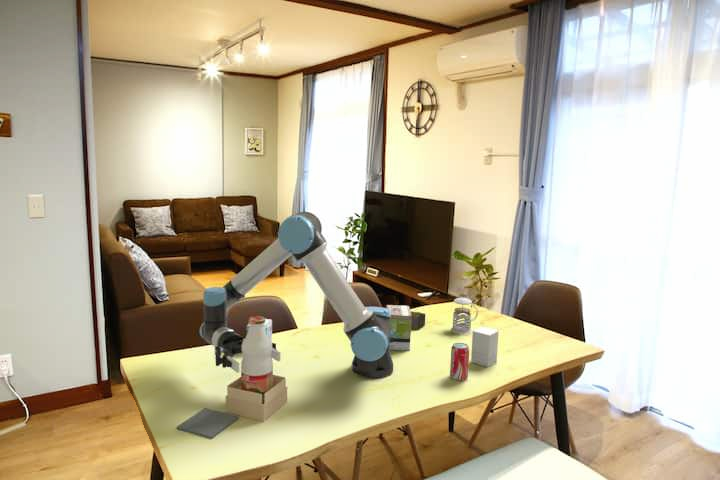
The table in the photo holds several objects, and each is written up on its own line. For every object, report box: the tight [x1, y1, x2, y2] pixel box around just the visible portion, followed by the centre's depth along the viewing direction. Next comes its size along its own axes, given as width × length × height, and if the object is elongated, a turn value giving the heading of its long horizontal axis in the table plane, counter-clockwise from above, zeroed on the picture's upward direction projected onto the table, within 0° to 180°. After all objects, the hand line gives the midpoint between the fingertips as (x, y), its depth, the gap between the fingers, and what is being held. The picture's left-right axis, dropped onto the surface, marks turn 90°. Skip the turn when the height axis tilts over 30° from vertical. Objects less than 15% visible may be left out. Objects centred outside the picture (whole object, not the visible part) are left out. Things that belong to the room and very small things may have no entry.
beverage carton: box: [410, 310, 426, 331], centre depth 234 cm, size 8×19×7 cm, turn 60°
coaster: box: [176, 407, 240, 439], centre depth 143 cm, size 12×12×1 cm
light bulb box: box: [246, 318, 273, 343], centre depth 199 cm, size 11×7×11 cm, turn 168°
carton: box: [225, 374, 288, 422], centre depth 152 cm, size 13×13×8 cm
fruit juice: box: [240, 315, 274, 404], centre depth 151 cm, size 9×9×28 cm
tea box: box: [385, 304, 412, 351], centre depth 208 cm, size 15×10×15 cm, turn 179°
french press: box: [450, 276, 479, 335], centre depth 226 cm, size 10×12×25 cm
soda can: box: [449, 342, 470, 381], centre depth 177 cm, size 6×6×12 cm
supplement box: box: [470, 326, 499, 368], centre depth 191 cm, size 7×7×13 cm
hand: (259, 362), depth 149 cm, fingers open, 13 cm apart
